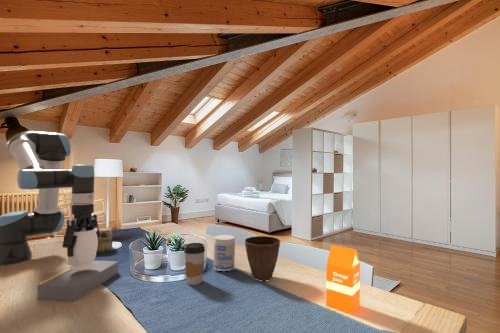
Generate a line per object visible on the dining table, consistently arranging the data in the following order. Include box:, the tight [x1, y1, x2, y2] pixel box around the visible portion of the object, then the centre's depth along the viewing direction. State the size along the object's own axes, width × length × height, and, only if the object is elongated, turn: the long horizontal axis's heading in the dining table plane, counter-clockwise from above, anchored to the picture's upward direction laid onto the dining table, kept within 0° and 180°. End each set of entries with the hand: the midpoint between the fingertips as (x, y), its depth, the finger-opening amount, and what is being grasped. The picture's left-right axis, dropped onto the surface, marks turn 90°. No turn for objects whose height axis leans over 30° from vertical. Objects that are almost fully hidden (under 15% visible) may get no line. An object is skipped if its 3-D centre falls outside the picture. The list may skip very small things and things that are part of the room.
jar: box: [69, 227, 98, 271], centre depth 110 cm, size 11×10×15 cm
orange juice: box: [325, 244, 361, 315], centre depth 95 cm, size 8×9×20 cm
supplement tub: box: [213, 234, 236, 272], centre depth 129 cm, size 10×10×15 cm
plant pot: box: [244, 235, 281, 282], centre depth 119 cm, size 15×15×16 cm
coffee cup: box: [183, 242, 206, 286], centre depth 114 cm, size 8×8×15 cm
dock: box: [37, 259, 119, 302], centre depth 110 cm, size 26×14×5 cm, turn 174°
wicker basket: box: [96, 226, 114, 255], centre depth 155 cm, size 15×14×11 cm
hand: (82, 259), depth 110 cm, fingers closed on jar, 10 cm apart
